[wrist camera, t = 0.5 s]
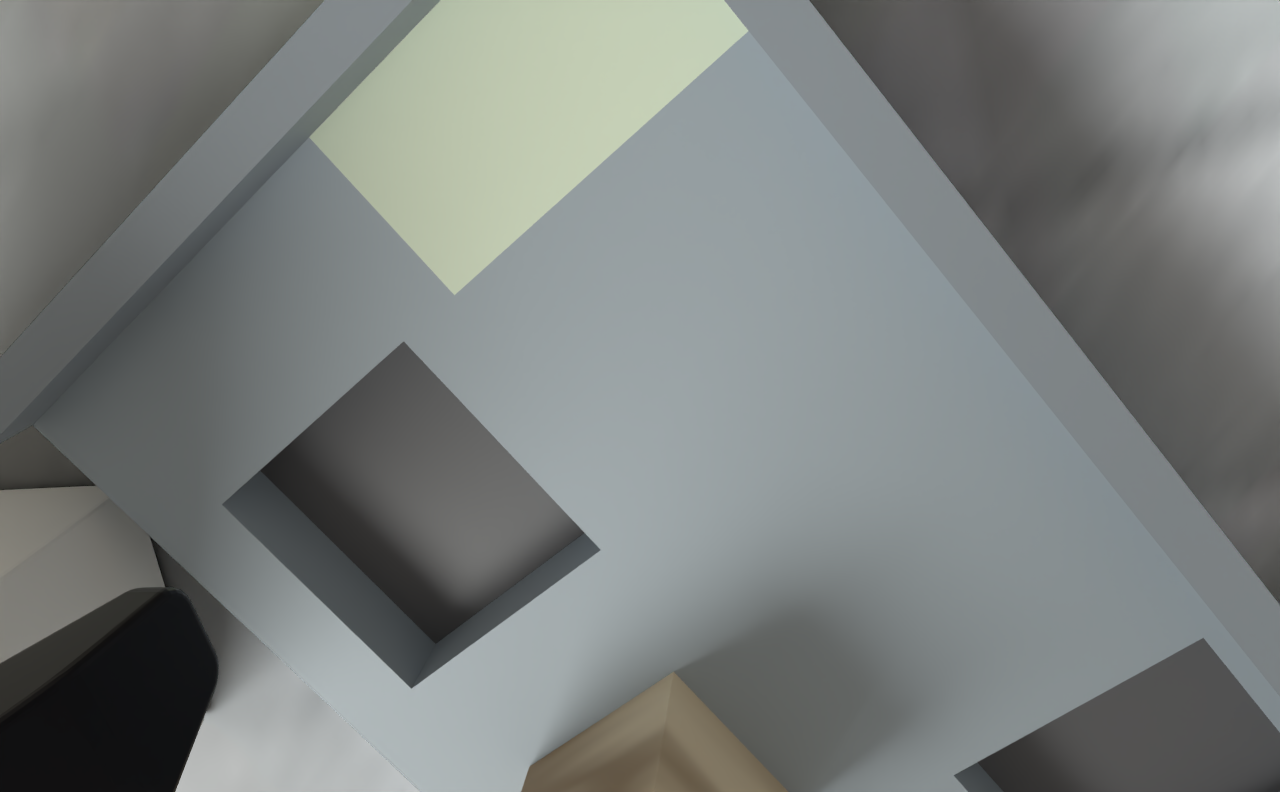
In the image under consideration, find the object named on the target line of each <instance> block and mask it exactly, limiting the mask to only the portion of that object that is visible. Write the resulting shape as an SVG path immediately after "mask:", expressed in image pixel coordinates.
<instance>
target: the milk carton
mask: <svg viewBox="0 0 1280 792" xmlns="http://www.w3.org/2000/svg"><path fill="white" fill-rule="evenodd" d="M142 587H165V585H164V582H163V578H162V575H161V572H160V569H159V565H158V562H157V559H156V555H155V552H154V549H153V546H152V542H151V539H150V536H149V535H148V534H147V533H146V532H145V531H144V530H143V529H142V528H141V527H140V526H139V525H138V524H136V523H135V522H134V521H133V520H132V519H131V518H130V517H129V516H128V515H127V514H126V513H125V512H124V511H123V510H122V509H121V508H120V507H118V506H117V505H116V504H115V503H114V502H113V501H112V500H111V499H110V498H109V497H108V496H107V495H106V494H105V493H104V492H103V491H102V490H100V489H99V488H98V487H97V486H80V487H58V488H37V489H15V490H0V663H1V662H3V661H5V660H7V659H8V658H10V657H12V656H14V655H15V654H17V653H19V652H21V651H22V650H24V649H26V648H28V647H30V646H31V645H33V644H35V643H37V642H38V641H40V640H42V639H44V638H45V637H47V636H49V635H51V634H52V633H54V632H56V631H58V630H59V629H61V628H63V627H65V626H67V625H68V624H70V623H72V622H74V621H75V620H77V619H79V618H81V617H82V616H84V615H86V614H88V613H89V612H91V611H93V610H95V609H97V608H98V607H100V606H102V605H104V604H105V603H107V602H109V601H111V600H112V599H114V598H116V597H118V596H119V595H121V594H123V593H125V592H127V591H129V590H132V589H135V588H142ZM203 720H204V718H203ZM202 723H203V721H202ZM202 723H201V725H202Z"/></svg>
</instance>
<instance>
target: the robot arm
mask: <svg viewBox="0 0 1280 792" xmlns="http://www.w3.org/2000/svg"><path fill="white" fill-rule="evenodd" d="M217 679H218V660H217V656H216V653H215V651H214V649H213V647H212V644H211V642H210V640H209V638H208V636H207V634H206V632H205V630H204V628H203V626H202V623H201V621H200V619H199V617H198V615H197V613H196V611H195V609H194V607H193V605H192V603H191V601H190V599H189V597H188V596H187V595H186V594H185V593H184V592H182V591H181V590H180V589H177V588H174V587H142V588H135V589H132V590H129V591H127V592H125V593H123V594H121V595H119V596H118V597H116V598H114V599H112V600H111V601H109V602H107V603H105V604H104V605H102V606H100V607H98V608H97V609H95V610H93V611H91V612H89V613H88V614H86V615H84V616H82V617H81V618H79V619H77V620H75V621H74V622H72V623H70V624H68V625H67V626H65V627H63V628H61V629H59V630H58V631H56V632H54V633H52V634H51V635H49V636H47V637H45V638H44V639H42V640H40V641H38V642H37V643H35V644H33V645H31V646H30V647H28V648H26V649H24V650H22V651H21V652H19V653H17V654H15V655H14V656H12V657H10V658H8V659H7V660H5V661H3V662H1V663H0V792H175V791H176V788H177V785H178V783H179V780H180V778H181V775H182V773H183V770H184V767H185V765H186V762H187V760H188V757H189V754H190V752H191V749H192V747H193V744H194V742H195V739H196V736H197V734H198V731H199V729H200V726H201V723H202V721H203V718H204V716H205V713H206V711H207V708H208V705H209V703H210V700H211V698H212V695H213V693H214V690H215V687H216V684H217Z"/></svg>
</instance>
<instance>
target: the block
mask: <svg viewBox="0 0 1280 792" xmlns="http://www.w3.org/2000/svg"><path fill="white" fill-rule="evenodd" d="M521 792H788V791H787V790H786V789H785V788H784V787H783V786H782V784H781V783H780V782H779V781H778V780H777V779H776V778H775V777H774V776H773V775H772V774H771V773H770V772H769V771H768V770H767V769H766V768H765V767H764V766H763V765H762V764H761V762H760V761H759V760H758V759H757V758H756V757H755V756H754V755H753V754H752V753H751V752H750V751H749V750H748V749H747V748H746V747H745V746H744V745H743V744H742V743H741V742H740V741H739V739H738V738H737V737H736V736H735V735H734V734H733V733H732V732H731V731H730V730H729V729H728V728H727V727H726V726H725V725H724V724H723V723H722V722H721V721H720V720H719V719H718V717H717V716H716V715H715V714H714V713H713V712H712V711H711V710H710V709H709V708H708V707H707V706H706V705H705V704H704V703H703V702H702V701H701V700H700V699H699V698H698V697H697V696H696V694H695V693H694V692H693V691H692V690H691V689H690V688H689V687H688V686H687V685H686V684H685V683H684V682H683V681H682V680H681V679H680V678H679V677H678V676H677V675H676V674H675V672H672V673H671V674H669V675H668V676H666V677H665V678H663V679H662V680H660V681H659V682H657V683H656V684H654V685H653V686H651V687H649V688H648V689H646V690H645V691H643V692H642V693H640V694H639V695H637V696H636V697H634V698H633V699H631V700H630V701H628V702H627V703H625V704H624V705H622V706H621V707H619V708H618V709H616V710H615V711H613V712H612V713H610V714H608V715H607V716H605V717H604V718H602V719H601V720H599V721H598V722H596V723H595V724H593V725H592V726H590V727H589V728H587V729H586V730H584V731H583V732H581V733H580V734H578V735H577V736H575V737H574V738H572V739H571V740H569V741H568V742H566V743H564V744H563V745H561V746H560V747H558V748H557V749H555V750H554V751H552V752H551V753H549V754H548V755H546V756H545V757H543V758H542V759H540V760H539V761H537V762H536V763H534V764H533V765H531V766H530V767H529V769H528V772H527V775H526V778H525V781H524V784H523V787H522V790H521Z"/></svg>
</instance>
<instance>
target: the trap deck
mask: <svg viewBox="0 0 1280 792" xmlns="http://www.w3.org/2000/svg"><path fill="white" fill-rule="evenodd" d="M32 425H33V426H34V427H35V428H36V429H37V430H38V431H39V432H40V433H41V434H42V435H43V436H44V437H45V438H47V439H48V440H49V441H50V442H51V443H52V444H53V445H54V446H55V447H56V448H57V449H58V450H59V451H60V452H61V453H62V454H63V455H65V456H66V457H67V458H68V459H69V460H70V461H71V462H72V463H73V464H74V465H75V466H76V467H77V468H78V469H79V470H80V471H81V472H83V473H84V474H85V475H86V476H87V477H88V478H89V479H90V480H91V481H92V482H93V483H94V484H95V485H96V486H97V487H98V488H99V489H100V490H102V491H103V492H104V493H105V494H106V495H107V496H108V497H109V498H110V499H111V500H112V501H113V502H114V503H115V504H116V505H117V506H118V507H120V508H121V509H122V510H123V511H124V512H125V513H126V514H127V515H128V516H129V517H130V518H131V519H132V520H133V521H134V522H135V523H136V524H138V525H139V526H140V527H141V528H142V529H143V530H144V531H145V532H146V533H147V534H148V535H149V536H150V537H151V538H152V539H153V540H154V541H155V542H157V543H158V544H159V545H160V546H161V547H162V548H163V549H164V550H165V551H166V552H167V553H168V554H169V555H170V556H171V557H172V558H173V559H175V560H176V561H177V562H178V563H179V564H180V565H181V566H182V567H183V568H184V569H185V570H186V571H187V572H188V573H189V574H190V575H191V576H193V577H194V578H195V579H196V580H197V581H198V582H199V583H200V584H201V585H202V586H203V587H204V588H205V589H206V590H207V591H208V592H209V593H211V594H212V595H213V596H214V597H215V598H216V599H217V600H218V601H219V602H220V603H221V604H222V605H223V606H224V607H225V608H226V609H227V610H228V611H230V612H231V613H232V614H233V615H234V616H235V617H236V618H237V619H238V620H239V621H240V622H241V623H242V624H243V625H244V626H245V627H246V628H248V629H249V630H250V631H251V632H252V633H253V634H254V635H255V636H256V637H257V638H258V639H259V640H260V641H261V642H262V643H263V644H264V645H266V646H267V647H268V648H269V649H270V650H271V651H272V652H273V653H274V654H275V655H276V656H277V657H278V658H279V659H280V660H281V661H282V662H283V663H285V664H286V665H287V666H288V667H289V668H290V669H291V670H292V671H293V672H294V673H295V674H296V675H297V676H298V677H299V678H300V679H301V680H303V681H304V682H305V683H306V684H307V685H308V686H309V687H310V688H311V689H312V690H313V691H314V692H315V693H316V694H317V695H318V696H319V697H321V698H322V699H323V700H324V701H325V702H326V703H327V704H328V705H329V706H330V707H331V708H332V709H333V710H334V711H335V712H336V713H337V714H338V715H340V716H341V717H342V718H343V719H344V720H345V721H346V722H347V723H348V724H349V725H350V726H351V727H352V728H353V729H354V730H355V731H356V732H358V733H359V734H360V735H361V736H362V737H363V738H364V739H365V740H366V741H367V742H368V743H369V744H370V745H371V746H372V747H373V748H374V749H376V750H377V751H378V752H379V753H380V754H381V755H382V756H383V757H384V758H385V759H386V760H387V761H388V762H389V763H390V764H391V765H392V766H393V767H395V768H396V769H397V770H398V771H399V772H400V773H401V774H402V775H403V776H404V777H405V778H406V779H407V780H408V781H409V782H410V783H411V784H413V785H414V786H415V787H416V788H417V789H418V790H419V791H420V792H521V790H522V787H523V784H524V781H525V778H526V775H527V772H528V769H529V767H530V766H531V765H533V764H534V763H536V762H537V761H539V760H540V759H542V758H543V757H545V756H546V755H548V754H549V753H551V752H552V751H554V750H555V749H557V748H558V747H560V746H561V745H563V744H564V743H566V742H568V741H569V740H571V739H572V738H574V737H575V736H577V735H578V734H580V733H581V732H583V731H584V730H586V729H587V728H589V727H590V726H592V725H593V724H595V723H596V722H598V721H599V720H601V719H602V718H604V717H605V716H607V715H608V714H610V713H612V712H613V711H615V710H616V709H618V708H619V707H621V706H622V705H624V704H625V703H627V702H628V701H630V700H631V699H633V698H634V697H636V696H637V695H639V694H640V693H642V692H643V691H645V690H646V689H648V688H649V687H651V686H653V685H654V684H656V683H657V682H659V681H660V680H662V679H663V678H665V677H666V676H668V675H669V674H671V673H672V672H675V674H676V675H677V676H678V677H679V678H680V679H681V680H682V681H683V682H684V683H685V684H686V685H687V686H688V687H689V688H690V689H691V690H692V691H693V692H694V693H695V694H696V696H697V697H698V698H699V699H700V700H701V701H702V702H703V703H704V704H705V705H706V706H707V707H708V708H709V709H710V710H711V711H712V712H713V713H714V714H715V715H716V716H717V717H718V719H719V720H720V721H721V722H722V723H723V724H724V725H725V726H726V727H727V728H728V729H729V730H730V731H731V732H732V733H733V734H734V735H735V736H736V737H737V738H738V739H739V741H740V742H741V743H742V744H743V745H744V746H745V747H746V748H747V749H748V750H749V751H750V752H751V753H752V754H753V755H754V756H755V757H756V758H757V759H758V760H759V761H760V762H761V764H762V765H763V766H764V767H765V768H766V769H767V770H768V771H769V772H770V773H771V774H772V775H773V776H774V777H775V778H776V779H777V780H778V781H779V782H780V783H781V784H782V786H783V787H784V788H785V789H786V790H787V791H788V792H1280V604H1279V603H1278V602H1277V601H1276V599H1275V598H1274V597H1273V595H1272V594H1271V593H1270V592H1269V590H1268V589H1267V588H1266V586H1265V585H1264V584H1263V583H1262V581H1261V580H1260V579H1259V577H1258V576H1257V575H1256V574H1255V572H1254V571H1253V570H1252V568H1251V567H1250V566H1249V565H1248V563H1247V562H1246V561H1245V559H1244V558H1243V557H1242V556H1241V554H1240V553H1239V552H1238V550H1237V549H1236V548H1235V547H1234V545H1233V544H1232V543H1231V541H1230V540H1229V539H1228V538H1227V536H1226V535H1225V534H1224V532H1223V531H1222V530H1221V529H1220V527H1219V526H1218V525H1217V523H1216V522H1215V521H1214V520H1213V518H1212V517H1211V516H1210V514H1209V513H1208V512H1207V511H1206V509H1205V508H1204V507H1203V505H1202V504H1201V503H1200V502H1199V500H1198V499H1197V498H1196V496H1195V495H1194V494H1193V493H1192V491H1191V490H1190V489H1189V487H1188V486H1187V485H1186V484H1185V482H1184V481H1183V480H1182V478H1181V477H1180V476H1179V475H1178V473H1177V472H1176V471H1175V469H1174V468H1173V467H1172V466H1171V464H1170V463H1169V462H1168V460H1167V459H1166V458H1165V457H1164V455H1163V454H1162V453H1161V452H1160V450H1159V449H1158V448H1157V446H1156V445H1155V444H1154V443H1153V441H1152V440H1151V439H1150V437H1149V436H1148V435H1147V434H1146V432H1145V431H1144V430H1143V428H1142V427H1141V426H1140V425H1139V423H1138V422H1137V421H1136V419H1135V418H1134V417H1133V416H1132V414H1131V413H1130V412H1129V410H1128V409H1127V408H1126V407H1125V405H1124V404H1123V403H1122V401H1121V400H1120V399H1119V398H1118V396H1117V395H1116V394H1115V392H1114V391H1113V390H1112V389H1111V387H1110V386H1109V385H1108V383H1107V382H1106V381H1105V380H1104V378H1103V377H1102V376H1101V374H1100V373H1099V372H1098V371H1097V369H1096V368H1095V367H1094V365H1093V364H1092V363H1091V362H1090V360H1089V359H1088V358H1087V356H1086V355H1085V354H1084V353H1083V351H1082V350H1081V349H1080V347H1079V346H1078V345H1077V344H1076V342H1075V341H1074V340H1073V338H1072V337H1071V336H1070V335H1069V333H1068V332H1067V331H1066V329H1065V328H1064V327H1063V326H1062V324H1061V323H1060V322H1059V320H1058V319H1057V318H1056V317H1055V315H1054V314H1053V313H1052V311H1051V310H1050V309H1049V308H1048V306H1047V305H1046V304H1045V302H1044V301H1043V300H1042V299H1041V297H1040V296H1039V295H1038V294H1037V292H1036V291H1035V290H1034V288H1033V287H1032V286H1031V285H1030V283H1029V282H1028V281H1027V279H1026V278H1025V277H1024V276H1023V274H1022V273H1021V272H1020V270H1019V269H1018V268H1017V267H1016V265H1015V264H1014V263H1013V261H1012V260H1011V259H1010V258H1009V256H1008V255H1007V254H1006V252H1005V251H1004V250H1003V249H1002V247H1001V246H1000V245H999V243H998V242H997V241H996V240H995V238H994V237H993V236H992V234H991V233H990V232H989V231H988V229H987V228H986V227H985V225H984V224H983V223H982V222H981V220H980V219H979V218H978V216H977V215H976V214H975V213H974V211H973V210H972V209H971V207H970V206H969V205H968V204H967V202H966V201H965V200H964V198H963V197H962V196H961V195H960V193H959V192H958V191H957V189H956V188H955V187H954V186H953V184H952V183H951V182H950V180H949V179H948V178H947V177H946V175H945V174H944V173H943V171H942V170H941V169H940V168H939V166H938V165H937V164H936V162H935V161H934V160H933V159H932V157H931V156H930V155H929V153H928V152H927V151H926V150H925V148H924V147H923V146H922V144H921V143H920V142H919V141H918V139H917V138H916V137H915V136H914V134H913V133H912V132H911V130H910V129H909V128H908V127H907V125H906V124H905V123H904V121H903V120H902V119H901V118H900V116H899V115H898V114H897V112H896V111H895V110H894V109H893V107H892V106H891V105H890V103H889V102H888V101H887V100H886V98H885V97H884V96H883V94H882V93H881V92H880V91H879V89H878V88H877V87H876V85H875V84H874V83H873V82H872V80H871V79H870V78H869V76H868V75H867V74H866V73H865V71H864V70H863V69H862V67H861V66H860V65H859V64H858V62H857V61H856V60H855V58H854V57H853V56H852V55H851V53H850V52H849V51H848V49H847V48H846V47H845V46H844V44H843V43H842V42H841V40H840V39H839V38H838V37H837V35H836V34H835V33H834V31H833V30H832V29H831V28H830V26H829V25H828V24H827V22H826V21H825V20H824V19H823V17H822V16H821V15H820V13H819V12H818V11H817V10H816V8H815V7H814V6H813V4H812V3H811V2H810V1H809V0H324V1H323V2H322V4H321V5H320V6H319V7H318V8H317V9H316V10H315V11H314V12H313V13H312V15H311V16H310V17H309V18H308V19H307V20H306V21H305V22H304V23H303V24H302V26H301V27H300V28H299V29H298V30H297V31H296V32H295V33H294V34H293V36H292V37H291V38H290V39H289V40H288V41H287V42H286V43H285V44H284V45H283V47H282V48H281V49H280V50H279V51H278V52H277V53H276V54H275V55H274V56H273V58H272V59H271V60H270V61H269V62H268V63H267V64H266V65H265V66H264V67H263V69H262V70H261V71H260V72H259V73H258V74H257V75H256V76H255V77H254V78H253V80H252V81H251V82H250V83H249V84H248V85H247V86H246V87H245V88H244V89H243V91H242V92H241V93H240V94H239V95H238V96H237V97H236V98H235V99H234V100H233V102H232V103H231V104H230V105H229V106H228V107H227V108H226V109H225V110H224V111H223V113H222V114H221V115H220V116H219V117H218V118H217V119H216V120H215V121H214V122H213V124H212V125H211V126H210V127H209V128H208V129H207V130H206V131H205V132H204V133H203V135H202V136H201V137H200V138H199V139H198V140H197V141H196V142H195V143H194V144H193V146H192V147H191V148H190V149H189V150H188V151H187V152H186V153H185V154H184V156H183V157H182V158H181V159H180V160H179V161H178V162H177V163H176V164H175V165H174V167H173V168H172V169H171V170H170V171H169V172H168V173H167V174H166V175H165V176H164V178H163V179H162V180H161V181H160V182H159V183H158V184H157V185H156V186H155V187H154V189H153V190H152V191H151V192H150V193H149V194H148V195H147V196H146V197H145V198H144V200H143V201H142V202H141V203H140V204H139V205H138V206H137V207H136V208H135V209H134V211H133V212H132V213H131V214H130V215H129V216H128V217H127V218H126V219H125V220H124V222H123V223H122V224H121V225H120V226H119V227H118V228H117V229H116V230H115V231H114V233H113V234H112V235H111V236H110V237H109V238H108V239H107V240H106V241H105V242H104V244H103V245H102V246H101V247H100V248H99V249H98V250H97V251H96V252H95V253H94V255H93V256H92V257H91V258H90V259H89V260H88V261H87V262H86V263H85V264H84V266H83V267H82V268H81V269H80V270H79V271H78V272H77V273H76V274H75V276H74V277H73V278H72V279H71V280H70V281H69V282H68V283H67V284H66V285H65V287H64V288H63V289H62V290H61V291H60V292H59V293H58V294H57V295H56V296H55V298H54V299H53V300H52V301H51V302H50V303H49V304H48V305H47V306H46V307H45V309H44V310H43V311H42V312H41V313H40V314H39V315H38V316H37V317H36V318H35V320H34V321H33V322H32V323H31V324H30V325H29V326H28V327H27V328H26V329H25V331H24V332H23V333H22V334H21V335H20V336H19V337H18V338H17V339H16V340H15V342H14V343H13V344H12V345H11V346H10V347H9V348H8V349H7V350H6V351H5V353H4V354H3V355H2V356H1V357H0V443H2V442H4V441H5V440H7V439H9V438H11V437H12V436H14V435H16V434H18V433H20V432H21V431H23V430H25V429H27V428H28V427H30V426H32Z"/></svg>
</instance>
